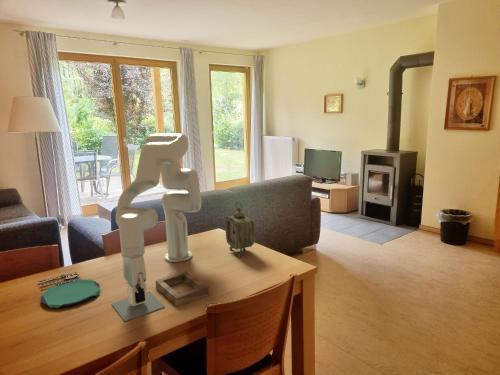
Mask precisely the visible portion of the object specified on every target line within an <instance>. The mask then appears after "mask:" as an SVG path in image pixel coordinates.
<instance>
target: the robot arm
mask: <svg viewBox="0 0 500 375" xmlns="http://www.w3.org/2000/svg"><path fill="white" fill-rule="evenodd" d="M145 137H146V138H145V144H143V145H142V147H141V149H140V152H139V157H138V158H139V159H138V165H137V168H136V174H135V179H134V180H133V181H132V182H131V183H129V184H128V185H127V187H125V189H124V190H123V191H122V193H121V195H120V196H119V198H118V202H117V206H116V211H115V223H116V224H117V226H118V229H119V230H118V231H119V239H120V240H119V241H120V249H121V250H120V251H121V257H122V272H123V278H124V280H125V281H126V282H128V283H129V284H130V285H132V286H135V290H136V292H135V300H136V303H140V302H143V301H145V289H144V288H145V283H147V273H146V272H147V270H146V264H145V258H144V255H145V253H146V249H145V237H144V232H146V231H148V230H151V229H152V228H153V229H154V227H155V226H156V224H157V223H158V220H159V215H158V212H157V211H156V210H155V209H153V208H150V207H131V204H132V202H133V201H134V199H136V197H138V196H139V195H141V194H142V193H145V192H147V191H149V190H151V189H154V188H155V187H157V186H158V185H159V184H160V178H161V181H162V185H163V187H164V189H166V190H169V191H166V192H165V193H163V195H162V196H161V204H162V208H163V212H164V219H165V220H164V221H165V232H166V235H165V236H166V246H167V247H166V249H167V253H165V254H164V260H165V261H167V262H171V263H181V262H185V261H188V260H190V259H191V258H193V253H192V252H191V251H190V250H189V240H188V238H189V237H188V236H189V235H188V221H187V218H186V216H185V215H184V213H197V212H199V211H200V210H201V207H202V197H201V195H202V194H201V187H200V179H199V174H198V172H197V171H196V169H193V168H182V167H181V164H180V161H181V160H182V159H183V157H184V156H185V155H186V154H187V152H188V150H189V139H188V137H187V135H186V134H183V133H151V134H149V135H147V136H145ZM138 281H139V283H137V282H138ZM137 285H140V287H137Z"/></svg>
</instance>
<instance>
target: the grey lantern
mask: <svg viewBox="0 0 500 375" xmlns="http://www.w3.org/2000/svg"><path fill="white" fill-rule="evenodd" d="M238 204H239V206H240V207H237V205H238ZM234 205H235V209H236V210H237V211H235V212H234V214H233V215H229V216H225V222H224V223H225V227H224V229H225V238H226V239H225V240H226V242H227V244H228V245H229V250H233V249H234V250H239V254H238V257H239V258H241V257H242V256H243V254H242V252H246V251H247V250H246V248H251V247H252V246H253V245H254V244H255V241H256V240H255V234H256V233H255V232H256V231H255V222H254V220H253V219H252V218H250V217H249V216H246V215H245V213H244V212H243V205H242V203H241V202H240V201H236V202H235V204H234Z"/></svg>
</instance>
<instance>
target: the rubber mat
mask: <svg viewBox="0 0 500 375" xmlns="http://www.w3.org/2000/svg"><path fill="white" fill-rule="evenodd" d="M111 306H112V307H113V308H114V310H115V311H116V312H117V313H118V315H119V316H120V318H121V319H122V320H123V321H124V323H126V322H129V321H131V320H134V319H137V318H140V317H143V316H145V315H148V314H151V313H153V312H156V311H159V310H162V309H164V308H166V306H165V304H163V303H162V302H161V301H160V300H159V299H158V298H157V297H156V296H155V295H154V294H153V293H152V292H151V291H147V302H145V303H142V304H139V305H136V306H132V304H131V303H130V302H129V301H128V297H127V298H125V299H122V300H118V301H115V302H112V303H111Z"/></svg>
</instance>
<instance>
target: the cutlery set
mask: <svg viewBox="0 0 500 375" xmlns="http://www.w3.org/2000/svg"><path fill="white" fill-rule="evenodd" d="M72 273H73V272H70V273H66V274H64V273H63V274H61V275H59V276H55V277H52V278H47V279H41V280H38V281H37V283H38V282H42V281H46V280H49V279H54V278H57V279H54V280H51V281H46V282H42V283H39V286H40V285H42V286H44V284H46V285H48V284H47V283H49V284H50V285H49V286H50V287H48V288H47V289H46V290H45V291H43V292H42V293H41V294H42V295H41V297H40V301H41V303H43V305H46V306H48V307H49V308H51V309H54V308H55V309H59V308H60V307H66V306H72V305H76V304H79V303H81V302H85V301H86V300H90V298H93V297H94V296H95V297H98V296H99V295H100V294H101V286H100V284H99V283H98V282H96V281H95V280H93V279H87V278H86V279H85V278H84V279H83V278H82V279H81V276H80V275H79V274H78V273H77V272H76V271H75V272H74V273H75V274H74V275H77V277H76V278H75V277H74V279H72V278H69V279H70V280H63V279H65V278H66V277H64V278H62V277H63V276H67V277H68V275H70V276H73V275H72ZM78 276H79V277H78ZM58 277H60V278H62V279H59V278H58ZM59 280H61V281H59ZM73 280H75V281H73ZM55 281H57V282H55ZM69 281H70V282H69ZM65 282H66V283H65ZM51 283H54V284H51ZM61 283H62V284H61ZM58 284H59V285H58ZM53 285H54V286H53Z"/></svg>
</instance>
